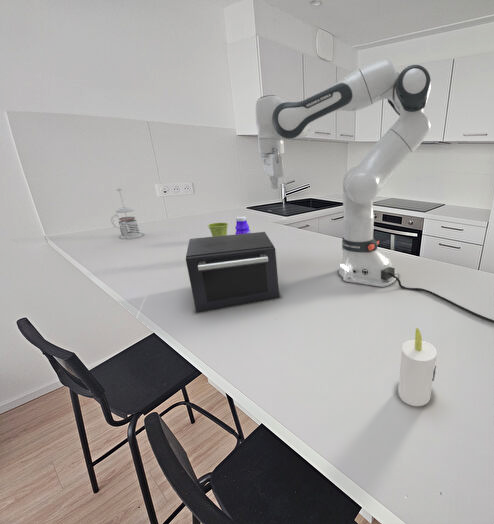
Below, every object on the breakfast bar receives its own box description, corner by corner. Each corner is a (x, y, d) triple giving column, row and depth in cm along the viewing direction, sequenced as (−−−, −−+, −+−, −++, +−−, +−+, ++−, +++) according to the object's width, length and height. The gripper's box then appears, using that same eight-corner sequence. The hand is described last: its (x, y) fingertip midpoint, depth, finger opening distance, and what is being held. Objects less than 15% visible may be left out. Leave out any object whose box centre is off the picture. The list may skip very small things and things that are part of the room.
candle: (429, 410, 55) (439, 343, 49) (394, 400, 57) (400, 334, 51) (433, 387, 60) (442, 324, 55) (401, 378, 62) (407, 316, 57)
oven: (278, 295, 97) (274, 246, 90) (196, 310, 87) (185, 256, 81) (268, 275, 112) (264, 231, 106) (198, 285, 103) (189, 238, 97)
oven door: (281, 302, 92) (277, 252, 86) (195, 319, 83) (184, 263, 77) (278, 295, 96) (274, 246, 90) (196, 310, 87) (185, 256, 81)
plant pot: (211, 239, 154) (208, 223, 151) (230, 237, 157) (228, 221, 154) (209, 244, 146) (206, 227, 143) (229, 243, 149) (227, 226, 146)
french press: (146, 235, 160) (134, 188, 151) (121, 240, 151) (107, 190, 142) (137, 232, 165) (125, 186, 156) (112, 237, 155) (98, 188, 146)
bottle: (247, 259, 128) (242, 219, 122) (235, 257, 129) (230, 218, 123) (255, 253, 134) (251, 215, 128) (244, 252, 136) (239, 215, 129)
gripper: (287, 148, 96) (289, 191, 101) (275, 148, 114) (277, 185, 119) (267, 148, 94) (270, 192, 99) (258, 148, 111) (261, 185, 116)
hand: (274, 188), depth 109 cm, fingers closed
